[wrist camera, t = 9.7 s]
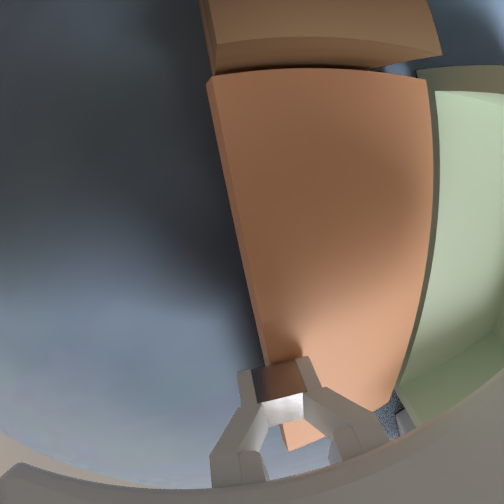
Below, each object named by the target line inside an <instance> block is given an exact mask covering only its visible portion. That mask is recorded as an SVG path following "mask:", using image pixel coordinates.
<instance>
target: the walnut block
mask: <svg viewBox="0 0 504 504" xmlns="http://www.w3.org/2000/svg"><path fill="white" fill-rule="evenodd" d="M198 5H199V10H200V15H201V21H202V26H203V31H204V36H205V41H206V47H207V52H208V57H209V62H210V67H211V72H212V76H217V75H224V74H231V73H239V72H248V71H258V70H271V69H292V68H330V69H350V70H363V71H367V70H371V69H375V68H379V67H383V66H387V65H391V64H396V63H401V62H406V61H411V60H416V59H422V58H428V57H434V56H441V55H442V51H441V46H440V42H439V38H438V35H437V31H436V27H435V24H434V21H433V17H432V14H431V11H430V8H429V5H428V3H427V0H198Z"/></svg>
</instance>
